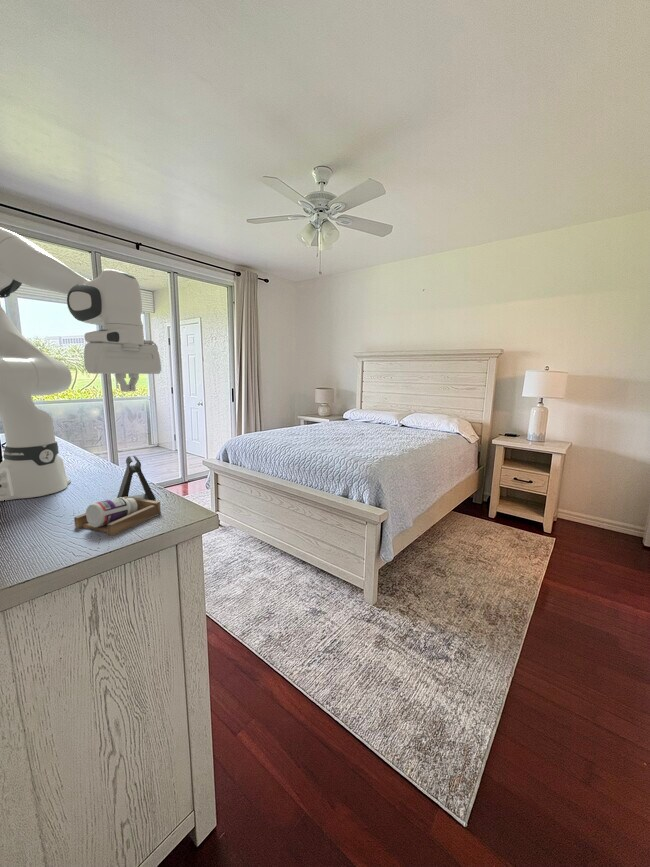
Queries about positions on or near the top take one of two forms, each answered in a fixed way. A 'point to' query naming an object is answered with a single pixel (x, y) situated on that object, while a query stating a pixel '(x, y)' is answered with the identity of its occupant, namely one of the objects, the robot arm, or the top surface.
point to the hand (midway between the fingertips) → (128, 391)
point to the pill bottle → (110, 511)
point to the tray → (144, 512)
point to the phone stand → (128, 477)
